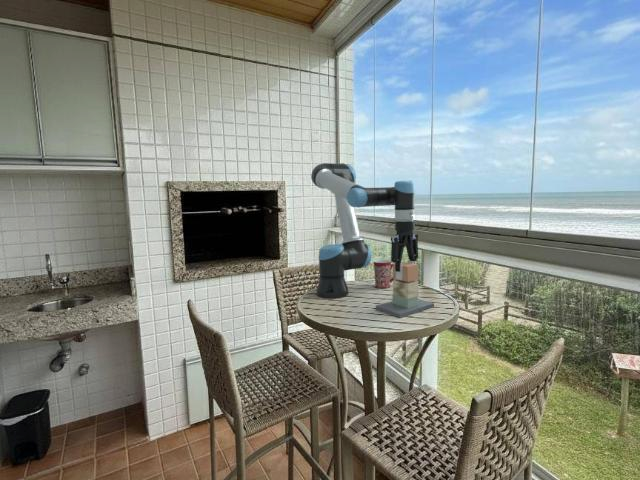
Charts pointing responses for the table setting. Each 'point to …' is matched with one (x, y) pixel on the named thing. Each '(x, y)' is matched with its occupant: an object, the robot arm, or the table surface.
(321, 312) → the table surface
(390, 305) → the baseplate
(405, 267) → the terracotta brick
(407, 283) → the maple brick
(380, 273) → the mug
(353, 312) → the table surface
